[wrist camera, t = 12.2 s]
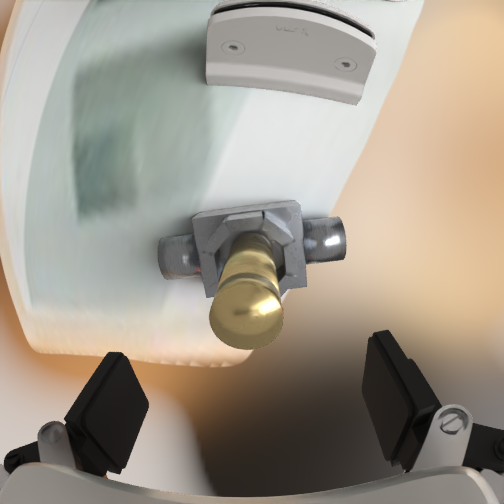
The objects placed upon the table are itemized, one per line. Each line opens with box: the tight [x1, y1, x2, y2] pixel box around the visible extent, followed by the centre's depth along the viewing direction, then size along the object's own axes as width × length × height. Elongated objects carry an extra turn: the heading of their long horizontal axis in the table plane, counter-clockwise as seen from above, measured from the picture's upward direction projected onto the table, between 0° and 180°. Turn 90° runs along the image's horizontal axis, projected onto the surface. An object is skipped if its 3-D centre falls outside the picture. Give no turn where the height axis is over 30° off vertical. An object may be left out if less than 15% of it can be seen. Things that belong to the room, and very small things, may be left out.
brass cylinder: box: [209, 233, 283, 350], centre depth 21 cm, size 4×4×12 cm
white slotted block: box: [206, 0, 377, 105], centre depth 21 cm, size 17×5×10 cm, turn 84°
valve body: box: [158, 200, 346, 319], centre depth 28 cm, size 18×12×7 cm, turn 97°
